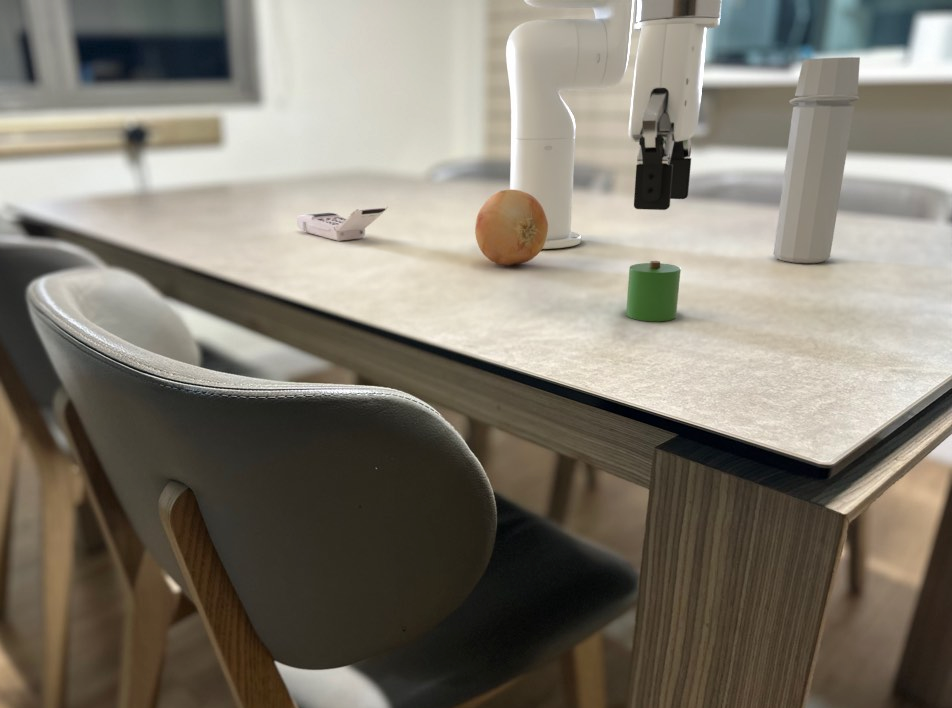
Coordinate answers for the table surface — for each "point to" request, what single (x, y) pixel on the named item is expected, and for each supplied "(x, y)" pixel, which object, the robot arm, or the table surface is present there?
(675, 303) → the green cylinder with nub
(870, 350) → the table surface
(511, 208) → the onion
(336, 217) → the mobile phone
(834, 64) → the water bottle
